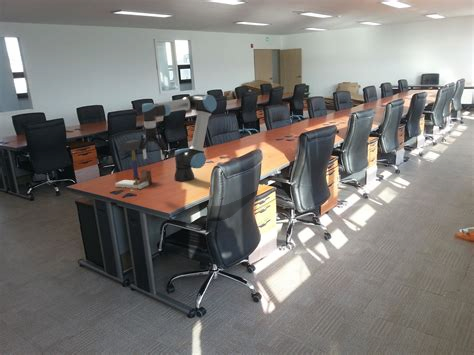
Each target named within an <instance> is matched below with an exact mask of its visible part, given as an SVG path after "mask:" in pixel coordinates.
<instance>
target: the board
mask: <svg viewBox="0 0 474 355" xmlns="http://www.w3.org/2000/svg"><path fill="white" fill-rule="evenodd" d="M133 182H135V180H132V179H130V180H129V179H123V180H120V181H117V182H115V183H114V184H115V187H116V188H125V187H126V188H127V189H137V188H138V189H137V190H139V189H140V190H142V189H143V188H146V187H148V186H149V185H150V184H149V183H148V182H145V181H144V182H142V183H140V184H138V185H133ZM131 187H132V188H131Z"/></svg>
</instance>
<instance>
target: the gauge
mask: <svg viewBox="0 0 474 355" xmlns="http://www.w3.org/2000/svg"><path fill="white" fill-rule="evenodd" d="M139 172H140V179H139V180H138V178H136V179H135V178H134V179H135V180H134V181H135V182H133V185H138V184H140V183H142V182H144V181H145V182H148V183H149V185H150V184H152V183H153V179H152V170H151V169H148V168H146V169H142V170H140V171H139Z"/></svg>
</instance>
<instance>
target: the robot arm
mask: <svg viewBox="0 0 474 355" xmlns="http://www.w3.org/2000/svg"><path fill="white" fill-rule="evenodd" d="M217 104H218V103H217V100H216V98H215V97H214V96H213V95H211V94H194V95H190V96H189V95H188V96H185V97H183V98H181V99H175V100H169V101H163V102H157V103H156V102H155V103H153V102H148V103H147V102H146V103H142V105H141V109H142V110H141V111H142V116H143V117H142V118H143V126H144V134H141V135H140V136H141V139H140V140H139V141H140V145H139V148H138V149H141V154H142V155H143V156H142V157H143V160H146V159H147V156H148V155H147V149H146V147H147V145H148V144H149V142H150V143H151V142H153V143H155V144H156V145H157V146H158V148H159V149H160V159H161V160H162V161H163V160H164V159H165V155H166V151H165V150H166V149H167V148H168V146H167V144H166V142H165V141H164V139H163V136H162V134H158V131H157V120H156V118H158V117H166V116H169V115H170V114H171V113H172V112H178V111H195V112H196V114H197V115H196V119H195V126H194V130H193V136H192V141H191V146H190V147H188V148H187V147H186V148H181V149H180V148H179V149H177V150H175V151H174V159H175V160H174V162H175V173H174V181H175V182H189V181H192V180H194V179H195V174H194V171H193V169H201V168H202V167H204V166H205V164H206V162H207V157H206V154H205V149H204V144H205V140H206V139H205V138H206V135H207V128H208V125H209V118H210V116H212V113H213V112H214V111H215V110H216V109H217V107H218V106H217ZM192 168H193V169H192Z"/></svg>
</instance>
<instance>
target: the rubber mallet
mask: <svg viewBox="0 0 474 355" xmlns="http://www.w3.org/2000/svg"><path fill="white" fill-rule="evenodd" d="M140 141H141V140H138V139H132V140H129V141H126V142H124V144H123V149H124V150H125V151H126V152H130V151H131V159H132V161H131V164H132V165H131V166H132V171H133V173H132V174H133V175H132V176H133V179H138V178H139V176H140V175H139V172H138V162H137V160H136V157H137V156H136V152H135V150H138V149H139V145H140Z"/></svg>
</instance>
